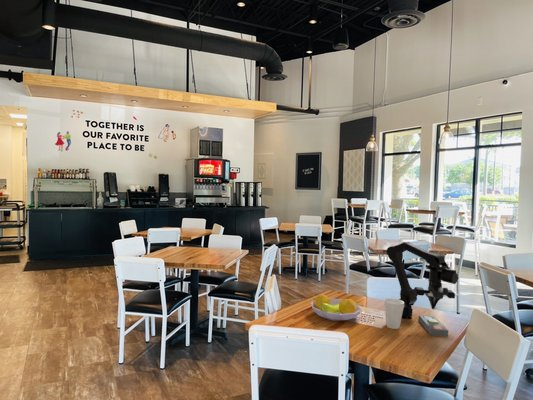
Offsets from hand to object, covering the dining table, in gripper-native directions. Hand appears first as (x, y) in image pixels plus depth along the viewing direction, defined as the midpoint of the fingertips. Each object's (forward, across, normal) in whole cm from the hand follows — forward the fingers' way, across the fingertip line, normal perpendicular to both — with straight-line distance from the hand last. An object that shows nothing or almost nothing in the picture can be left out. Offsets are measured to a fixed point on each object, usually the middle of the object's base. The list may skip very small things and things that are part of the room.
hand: (432, 308), depth 196 cm
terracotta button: (+8, 0, -10) cm, 13 cm away
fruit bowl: (+10, -50, +1) cm, 51 cm away
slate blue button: (+8, -1, +4) cm, 9 cm away
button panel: (+9, 0, -3) cm, 9 cm away
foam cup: (+9, -20, -6) cm, 23 cm away
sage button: (+7, 0, -3) cm, 7 cm away
